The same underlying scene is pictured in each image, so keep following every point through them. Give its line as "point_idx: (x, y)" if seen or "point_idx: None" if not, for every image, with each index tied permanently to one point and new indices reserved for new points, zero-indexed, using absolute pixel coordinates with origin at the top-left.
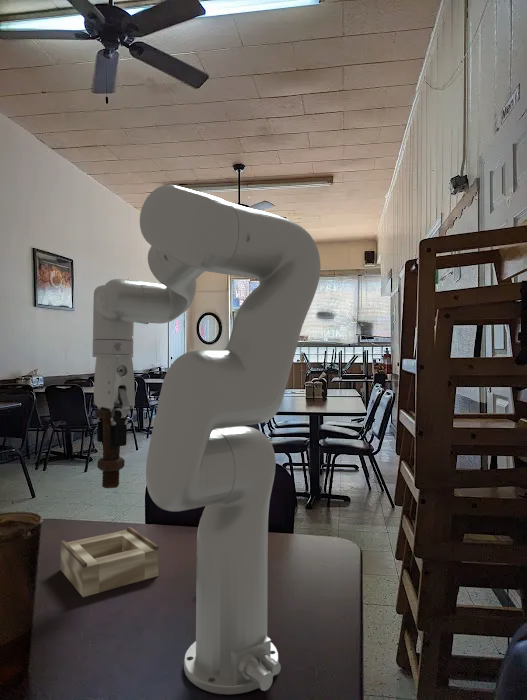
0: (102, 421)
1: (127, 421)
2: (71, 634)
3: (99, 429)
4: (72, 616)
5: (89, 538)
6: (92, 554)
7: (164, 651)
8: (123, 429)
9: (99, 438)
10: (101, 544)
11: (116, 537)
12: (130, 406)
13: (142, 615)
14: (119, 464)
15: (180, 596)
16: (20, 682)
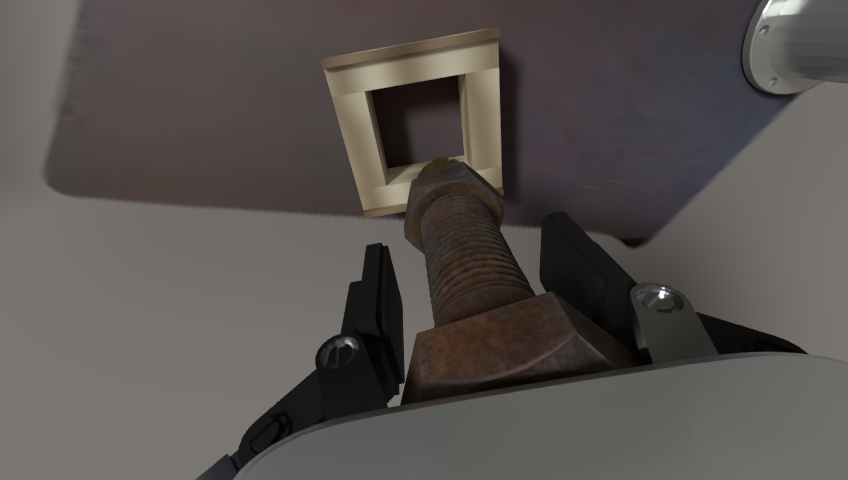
0: (393, 377)
1: (684, 296)
2: (579, 198)
3: (403, 349)
4: (536, 193)
5: (356, 163)
6: (381, 152)
7: (704, 100)
8: (629, 280)
9: (402, 312)
10: (376, 139)
11: (368, 106)
12: (726, 371)
13: (601, 103)
14: (496, 192)
15: (590, 15)
16: (628, 245)
